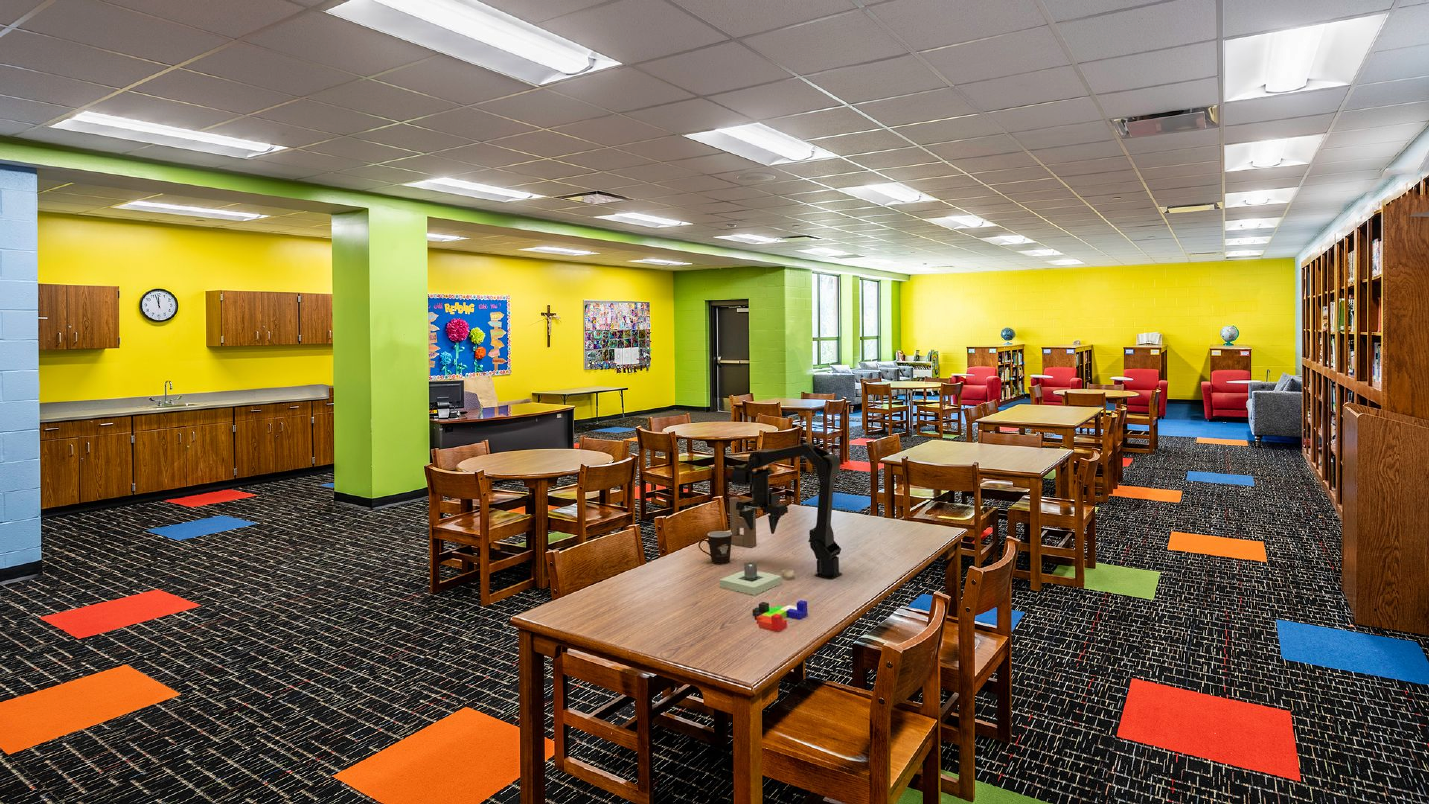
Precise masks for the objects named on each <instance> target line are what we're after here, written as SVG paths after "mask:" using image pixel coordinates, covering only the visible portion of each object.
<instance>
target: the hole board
mask: <svg viewBox="0 0 1429 804" xmlns="http://www.w3.org/2000/svg"><path fill="white" fill-rule="evenodd" d="M782 584H783V579H782V575H777V574H772V573H768V572H764V571H759V570H757V580H756V581H753V582H750V581H746V580H745V577H744V570H742V571H739V572H736V573H734V574H731V575H728V576H726V577H723V578H720V579H719V588H721V589H725V588H726V589H725V590H729V591H733V592H737V591H739V592H738V593H742V592H743V593H742V594H746V593H747V594H746V595H750V594H752V595H751V596H754V595H755V596H756V594H757V595H759V594H762V593H764V592H766V590H767V591H769V590H771V589H773V588H776V587H778V586H781V585H782ZM777 585H778V586H777ZM775 586H776V587H775ZM770 588H771V589H770ZM768 589H769V590H768ZM763 591H764V592H763ZM761 592H762V593H761Z"/></svg>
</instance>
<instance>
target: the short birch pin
mask: <svg viewBox="0 0 1429 804" xmlns="http://www.w3.org/2000/svg"><path fill="white" fill-rule="evenodd" d="M781 576H782V580H783V579H784V580H783V581H793V580H794V579H795V570H793V569H791V568H789V569H783V570H781ZM792 579H793V580H792Z"/></svg>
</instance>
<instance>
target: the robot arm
mask: <svg viewBox="0 0 1429 804" xmlns="http://www.w3.org/2000/svg"><path fill="white" fill-rule="evenodd" d="M799 457H804V458H805V459H806V460H808V462H809V463H810V464H811V465H812V466H814V467H815V469H816V476H817V479H818V482H819V487H818V499H817V512H816V513H817V514H816V524H815V526H814V527H813V528H811V529H809V532H808V533H809V538H808V539H809V540H808V541H807V542H808V543H809V547H810V549H811V550H812V551H813V553H814V556H815V559H816V573H815V574H814V576H816V577H820V578H825V579H829V580H833V579H835V578H838V577H839V576H841V575H842V574H843V572H840V560H839V559H840V557H839V555H841V551H842V548H841V546H840V545H839V544H838V543H836V541H835V536H834V531H833V528H832V525H831V524H832V512H833V511H832V510H833V502H834V501H833V500H834V499H833V498H834V490H835V489H834V487H835V486H834V485H835V482H836V479H837V477H838V474H839V472H840V468H841V459H840V458H839V457H838V456H837V455H836V454H832V453H830V452H828V451H827V450H825V449H823V448H821V447H819V446H817V445H815V443H813V442H806V443H803V444H799V445H795V446H790V447H785V448H780V449H771V448H770V449H769V448H767V449H759V450H756V451H752V452H750V453H749V456H748V460H747V462H746V464H745V465H744V466H743V465H742V466H741V465H734V466H733V470H732V471H731V474H730V482H731V485H733V486H742V487H744V486H745V487H750V486H751V485H752V486H751V490H749V494H751V495H752V499H747V498H746V499H742V500H739V501H737V503H736V510H739V514H740V515H741V516H742V519H743V518H744V519H745V521H746V523H747V525H748V527H749V529H750V530H751V531H752V530H753V513H754V511H755V512H756V510H760V511H767V512H768V514H769V515H767V517H768V522H769V530H770V533H771V535H774V534H775V532H776V528H777V527H778V523H779V520H780V518H781V517H782V516H785V514H788V513H789V507H788V506H787V504H784V503H780V501H781V497H782V496H781V495H779V494H775V493H773V490H772V489H771V488H770V477H769V476H772V475H773V474H775V471H774V470H773V469H772V468H771V467H769V465H771V464H772V465H773V463H776V462H779V461H784V460H785V461H786V460H790V459H794V458H795V459H796V458H799ZM766 466H767V467H766ZM763 467H765V469H764V468H763Z"/></svg>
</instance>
